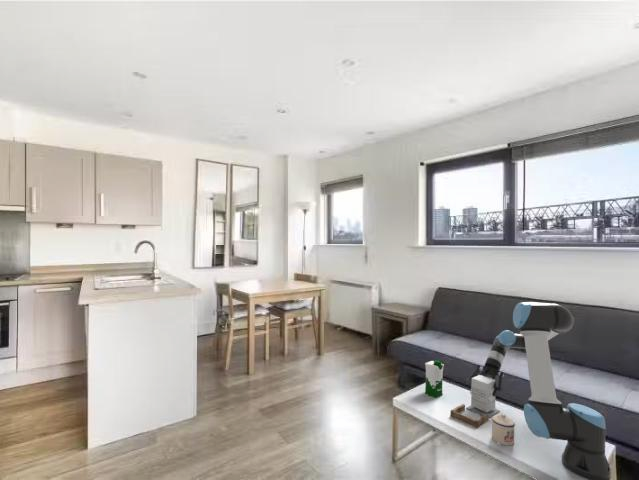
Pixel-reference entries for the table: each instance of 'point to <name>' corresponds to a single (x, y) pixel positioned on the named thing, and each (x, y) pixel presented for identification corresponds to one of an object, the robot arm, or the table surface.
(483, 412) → the slate mat
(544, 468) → the table surface
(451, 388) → the table surface
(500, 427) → the teacup with lid
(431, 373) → the milk carton
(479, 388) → the supplement box
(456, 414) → the walnut cradle
